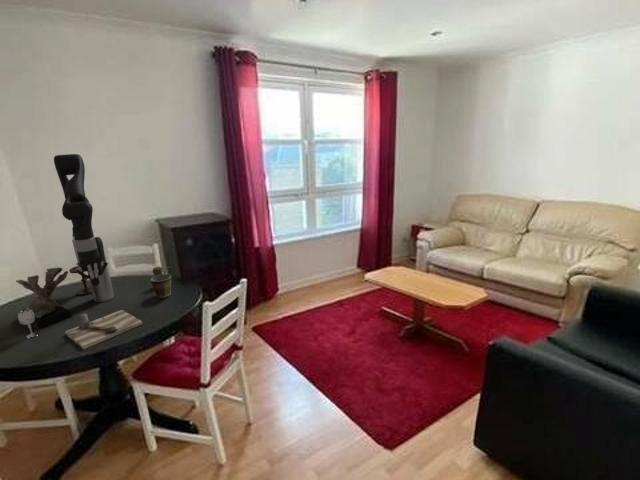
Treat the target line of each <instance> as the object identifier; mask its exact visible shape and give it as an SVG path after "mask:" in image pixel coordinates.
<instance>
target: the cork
mask: <svg viewBox="0 0 640 480" xmlns="http://www.w3.org/2000/svg"><path fill="white" fill-rule="evenodd" d="M152 273H153V275H154V276H153V277H155V276H158V275H163V273H164V272H163V268H162V266H155V267H154V268H152Z"/></svg>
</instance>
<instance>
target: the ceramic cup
mask: <svg viewBox="0 0 640 480" xmlns="http://www.w3.org/2000/svg"><path fill="white" fill-rule="evenodd" d="M162 274H163V273H162ZM150 283H151V285H152V287H153V291H154V293H155V294H156V297H157V298H159V299H162V298H163V297H164V298H168V297H169V296H171V295H172V293H171V292H172V275H171V274H169V273H168V274H165V273H164V274H163V275H158V276H155V277H154V276H152V277H151V278H150ZM167 296H168V297H167Z"/></svg>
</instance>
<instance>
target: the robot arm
mask: <svg viewBox="0 0 640 480" xmlns="http://www.w3.org/2000/svg"><path fill="white" fill-rule="evenodd" d="M53 163H54V167H55V171H56V173H57V176H58V179H59V182H60V186H61V188H62V191H63V195H64V199H65V200H64V202H63V204H62V207H61V212H62V216H63V218H65V219H66V220H69V221H71V223H72V228H71V230H72V234H73V235H74V239H75V246H76V250H77V254H78V258H79V267H78V268H77V269H75V270H74V271H75V272H76V273H75V274H78V275H80V276H81V277H82V276H83V277H84V278H86V279H87V280H88V279H89V284H90V287H91V289H92V296H93V301H94V302H97V303H102V302H107V301H109V300H111V299H113V298H114V297H115V294H114V290H113V284H112V280H111V275H110V272H109V267H108V265H109V263H108V262H107V259H106V255H105V248H104V243H103V239H102V238H101V237H99V236H95V235H94V230H93V226H92V224H93V223H92V222H93V221H92V218H93V212H94V211H93V206H92V204H91V203H90V201H89V199H88V197H87V196H86V192H85V173H86V172H85V171H86V170H85V169H86V168H85V163H84V160H83V157H82V156H81V155H80V154H77V153H71V154H70V153H69V154H68V153H67V154H57V155H54V157H53ZM68 176H72V177H70V179H69V178H68ZM81 268H82V269H84V270H85V272H87V274H86V273H85V272H84V273H83V272H82V269H81Z"/></svg>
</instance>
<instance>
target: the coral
mask: <svg viewBox="0 0 640 480" xmlns="http://www.w3.org/2000/svg"><path fill="white" fill-rule="evenodd" d="M63 270H64V269H63V268H62V267H53V268H51V267H50V268H47V269H46V271H45V279H44V281H45V285H43V287H41V286H40V285H39V284H38V283H39V278H40V276H39V275H37V274H36V275H33V276H27V281H26V280H23V279H18V280H17V279H16V280H15V282H16V283H18V284H19V285H21V286H22V287H23V288H24V289H27V290H29V291H31V292H32V293H34V294H36V295H37V297H36V298H34V300H32V301H31V302H30V303H29V305H28V307H27V308H31V309H32V310H33V311H34V313H35V316H36V319H35V321H34V322H33V323H31V324H30V325H31V327H33V328H35V329H37V330H41V329H44V328H47V327H49V326H52V325H55V324H57V323H59V322H62V321H66V320H68V319H70V318H72V317H73V316H72V312H71V310H70V309H68V308H66V307H64V306H62V305H60V304H58V302H56V300H55V299H53V293H54V292H55V289H56V288H57V287H58V286H59V285H60V284H61V283H62V282H63V281H65V279H67V276H68V274H69V272H68V271H69V270H68V271H67V270H65V271H64V272H63V273H62V274H60V273H61V272H62V271H63ZM57 276H58V277H57ZM56 277H57V279H55V278H56Z"/></svg>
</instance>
